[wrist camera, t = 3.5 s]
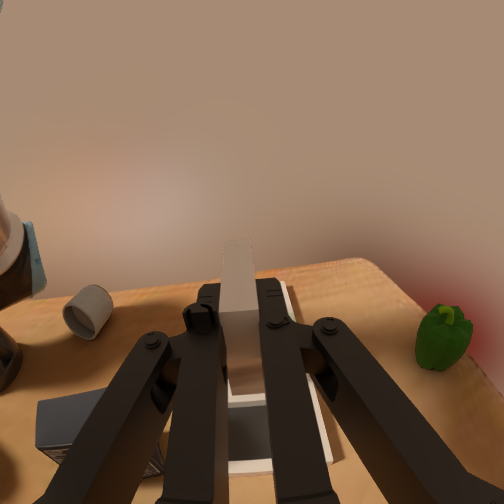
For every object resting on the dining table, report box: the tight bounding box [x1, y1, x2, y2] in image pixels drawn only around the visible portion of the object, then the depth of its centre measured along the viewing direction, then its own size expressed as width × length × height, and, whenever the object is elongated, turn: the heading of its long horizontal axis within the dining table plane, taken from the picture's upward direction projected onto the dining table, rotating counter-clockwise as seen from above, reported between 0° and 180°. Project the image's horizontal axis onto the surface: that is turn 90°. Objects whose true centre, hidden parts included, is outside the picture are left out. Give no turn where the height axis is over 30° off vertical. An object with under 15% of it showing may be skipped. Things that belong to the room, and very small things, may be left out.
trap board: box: [228, 281, 333, 477], centre depth 37 cm, size 35×14×2 cm, turn 4°
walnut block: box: [227, 358, 265, 396], centre depth 30 cm, size 6×6×12 cm
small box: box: [35, 387, 165, 479], centre depth 20 cm, size 11×6×10 cm, turn 116°
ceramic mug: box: [63, 285, 113, 340], centre depth 43 cm, size 11×8×8 cm
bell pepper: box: [415, 304, 473, 371], centre depth 30 cm, size 8×8×10 cm
